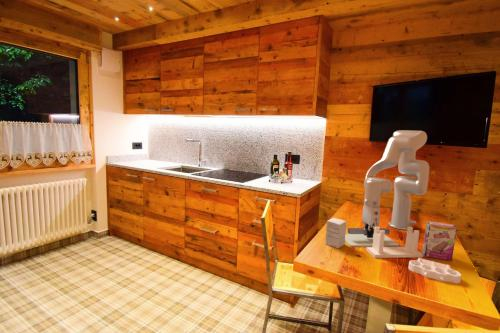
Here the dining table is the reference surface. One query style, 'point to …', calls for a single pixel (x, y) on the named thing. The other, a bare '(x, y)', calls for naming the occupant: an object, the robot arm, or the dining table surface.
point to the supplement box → (335, 232)
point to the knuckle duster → (434, 270)
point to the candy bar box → (439, 240)
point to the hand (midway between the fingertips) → (368, 236)
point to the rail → (364, 230)
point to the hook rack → (395, 252)
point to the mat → (365, 240)
